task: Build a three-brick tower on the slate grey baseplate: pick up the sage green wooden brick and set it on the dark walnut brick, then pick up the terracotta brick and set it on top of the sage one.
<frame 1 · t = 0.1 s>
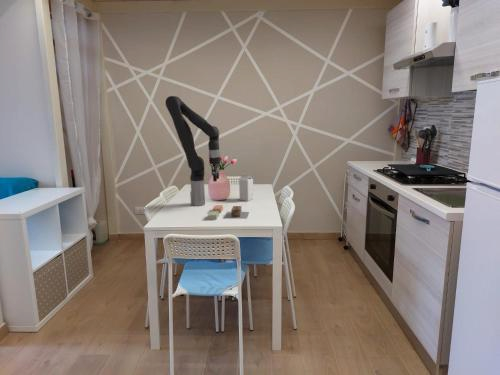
hand: (216, 180, 248), 17 cm above the table, tool pointing down, fingers open, 8 cm apart
milk carton: (246, 200, 263), on the table
sage brick: (213, 220, 216), on the table
terracotta brick: (218, 213, 229), on the table
walnut brick: (236, 215, 220), point 1 cm above the table, touching baseplate
baseplate: (236, 217, 220), on the table
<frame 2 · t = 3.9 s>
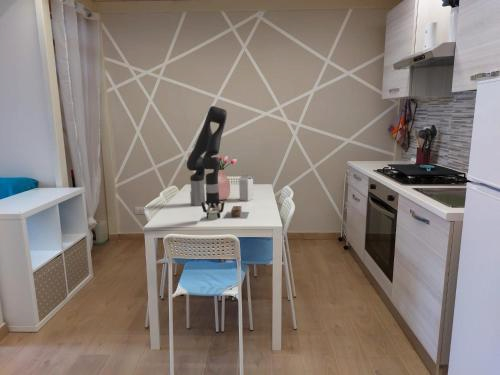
hand: (213, 218, 215), 1 cm above the table, tool pointing down, fingers closed on sage brick, 5 cm apart
sage brick: (213, 220, 216), on the table, touching gripper
everything else where it was.
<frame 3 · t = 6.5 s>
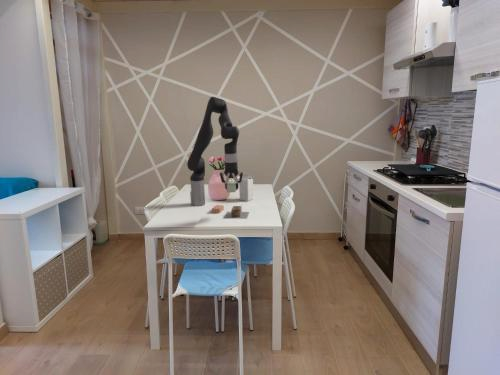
hand: (231, 189, 215), 18 cm above the table, tool pointing down, fingers closed on sage brick, 5 cm apart
sage brick: (231, 190, 215), point 17 cm above the table, touching gripper
everything else where it was.
when the fingers open (8 cm above the table, at t = 8.9 s): sage brick drops 1 cm, resting on walnut brick.
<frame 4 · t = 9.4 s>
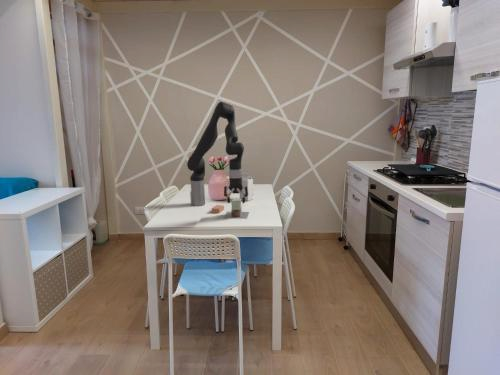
hand: (236, 203, 218), 9 cm above the table, tool pointing down, fingers open, 8 cm apart
sage brick: (236, 207, 219), point 6 cm above the table, touching walnut brick
walnut brick: (236, 215, 220), point 1 cm above the table, touching baseplate, sage brick
everything else where it was.
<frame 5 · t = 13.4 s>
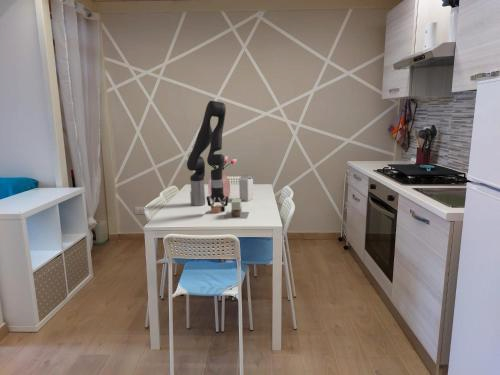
hand: (218, 212, 229), 1 cm above the table, tool pointing down, fingers closed on terracotta brick, 5 cm apart
terracotta brick: (218, 213, 229), on the table, touching gripper
everything else where it was.
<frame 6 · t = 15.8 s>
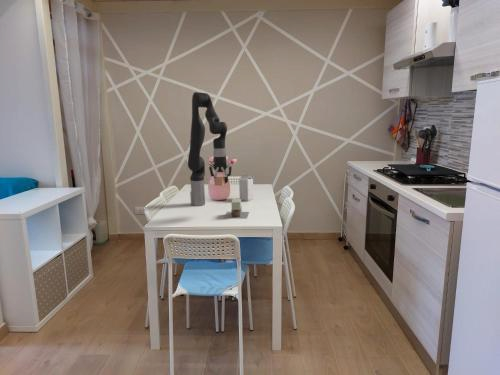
hand: (221, 182, 223), 20 cm above the table, tool pointing down, fingers closed on terracotta brick, 5 cm apart
terracotta brick: (221, 184, 223), point 19 cm above the table, touching gripper
everything else where it was.
when the fingers open (13 cm above the table, at t = 18.3 s): terracotta brick drops 1 cm, resting on sage brick.
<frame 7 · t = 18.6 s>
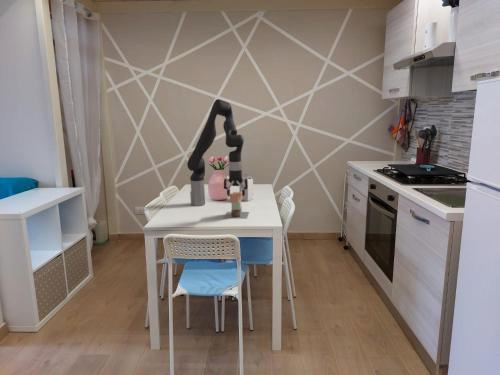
hand: (236, 195, 217), 13 cm above the table, tool pointing down, fingers open, 8 cm apart
sage brick: (236, 207, 219), point 6 cm above the table, touching terracotta brick, walnut brick
terracotta brick: (236, 200, 218), point 10 cm above the table, touching sage brick
everything else where it was.
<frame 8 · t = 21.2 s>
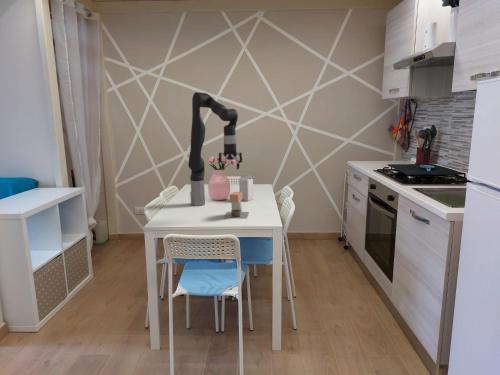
hand: (230, 169, 222), 28 cm above the table, tool pointing down, fingers open, 8 cm apart
nothing on the table moved.
at the end: sage brick 0.1 cm off-centre on the walnut brick, point 4.5 cm above the walnut brick's base; terracotta brick 0.0 cm off-centre on the sage brick, point 4.5 cm above the sage brick's base; terracotta brick tilted 0° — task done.
